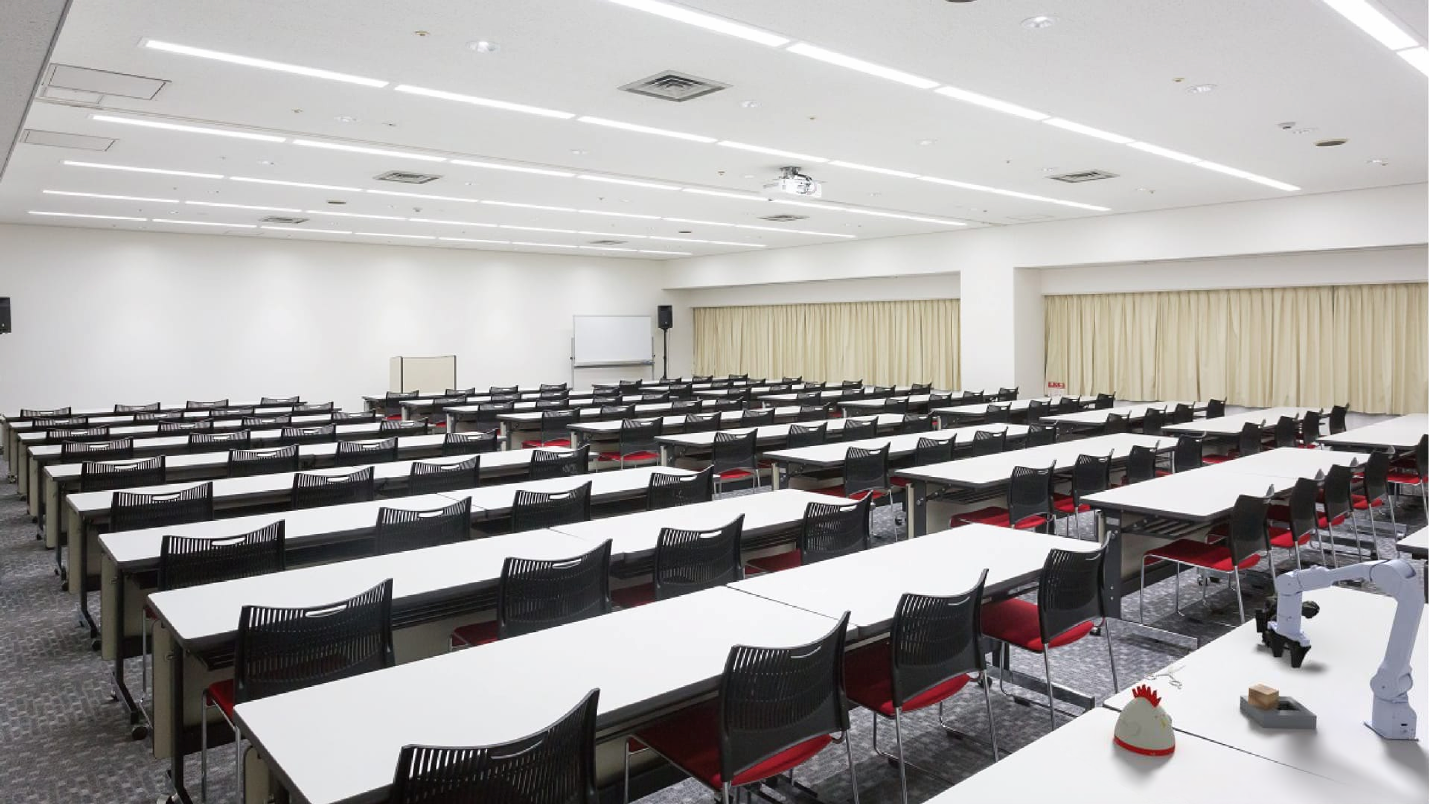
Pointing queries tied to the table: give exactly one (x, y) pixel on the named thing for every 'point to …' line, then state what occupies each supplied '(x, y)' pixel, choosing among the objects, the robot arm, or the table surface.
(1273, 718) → the square hole plate
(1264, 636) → the movie camera
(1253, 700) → the peg
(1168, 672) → the scissors
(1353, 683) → the table surface
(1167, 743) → the kitchen timer
